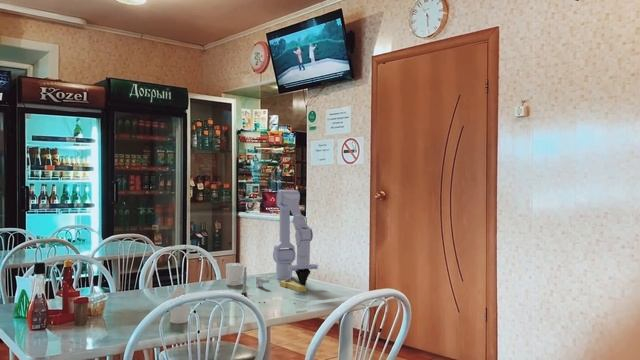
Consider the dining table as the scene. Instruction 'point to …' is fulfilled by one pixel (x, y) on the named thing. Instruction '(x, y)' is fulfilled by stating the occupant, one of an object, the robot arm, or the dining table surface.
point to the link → (293, 286)
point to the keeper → (261, 281)
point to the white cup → (234, 273)
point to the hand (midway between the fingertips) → (302, 286)
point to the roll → (179, 308)
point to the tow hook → (244, 284)
